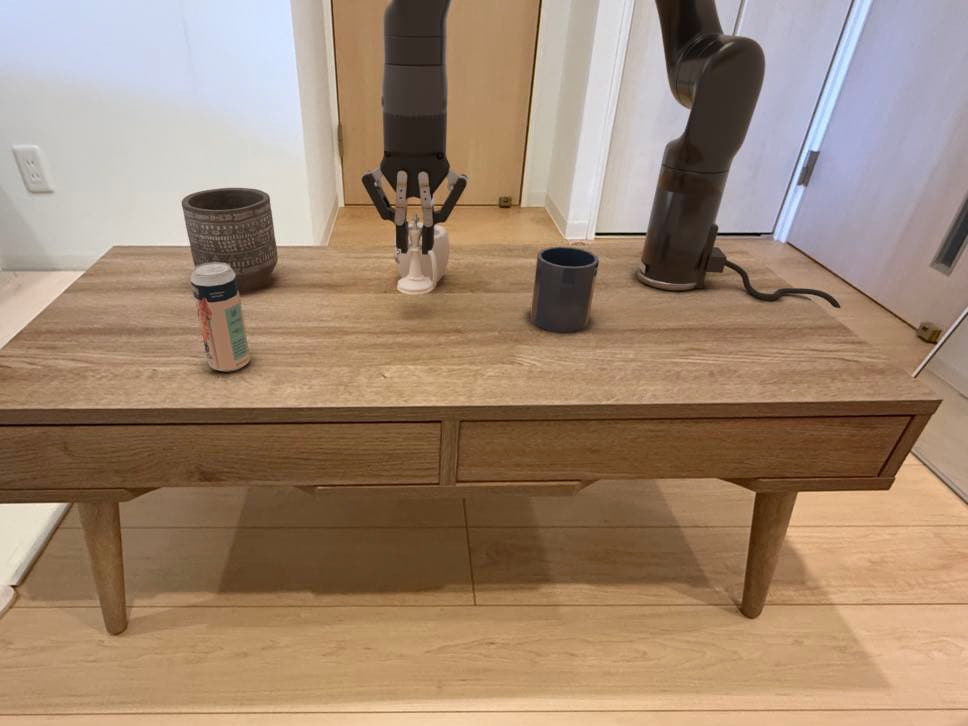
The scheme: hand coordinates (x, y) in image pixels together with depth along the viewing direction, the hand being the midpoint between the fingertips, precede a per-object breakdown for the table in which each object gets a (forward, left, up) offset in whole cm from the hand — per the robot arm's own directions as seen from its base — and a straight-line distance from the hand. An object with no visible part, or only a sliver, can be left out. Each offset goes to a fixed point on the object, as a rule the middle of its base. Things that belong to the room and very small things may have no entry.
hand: (414, 251), depth 80 cm
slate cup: (-20, -1, -9) cm, 22 cm away
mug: (0, -11, -9) cm, 14 cm away
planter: (+28, -7, -9) cm, 30 cm away
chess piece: (0, 0, -5) cm, 5 cm away
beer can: (+20, +17, -9) cm, 28 cm away
